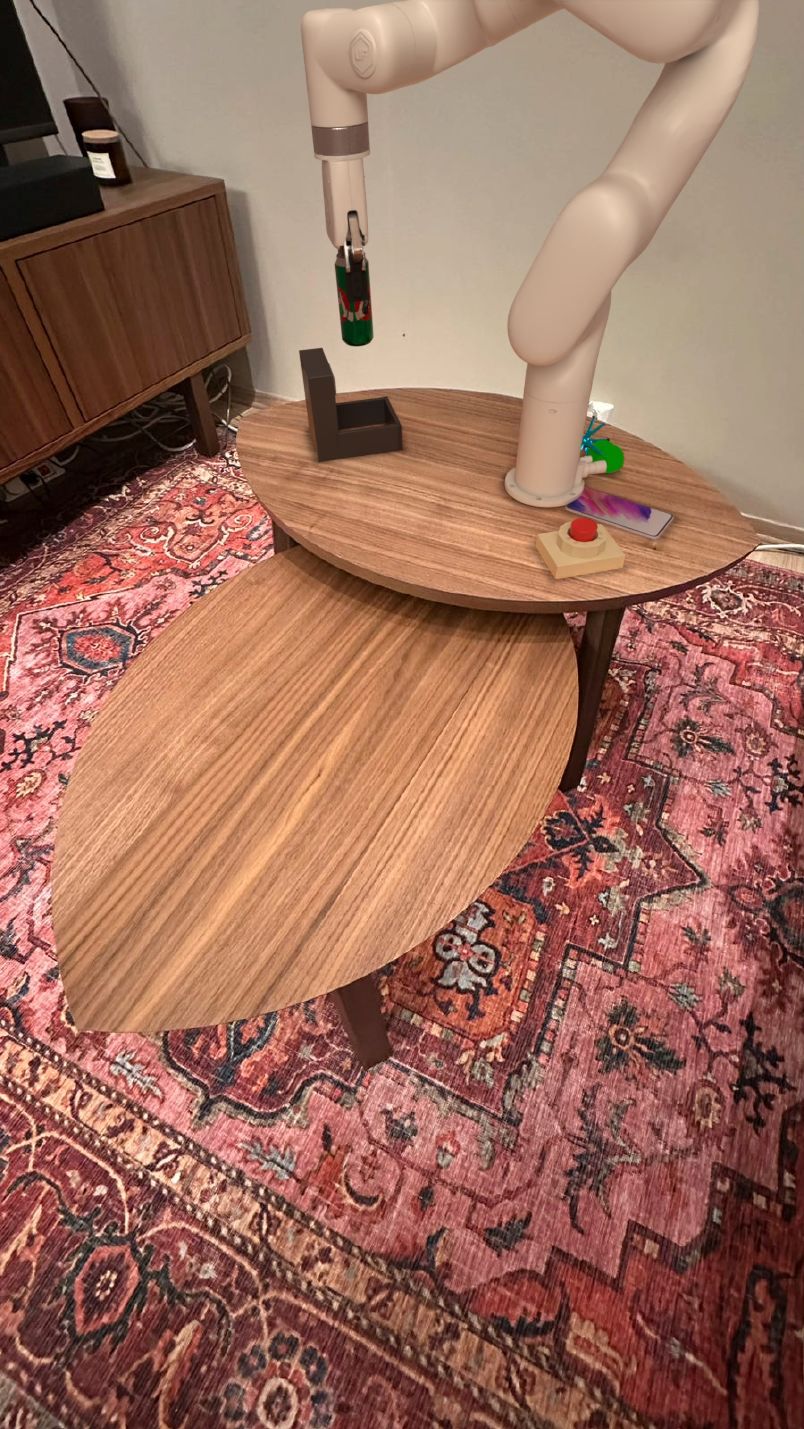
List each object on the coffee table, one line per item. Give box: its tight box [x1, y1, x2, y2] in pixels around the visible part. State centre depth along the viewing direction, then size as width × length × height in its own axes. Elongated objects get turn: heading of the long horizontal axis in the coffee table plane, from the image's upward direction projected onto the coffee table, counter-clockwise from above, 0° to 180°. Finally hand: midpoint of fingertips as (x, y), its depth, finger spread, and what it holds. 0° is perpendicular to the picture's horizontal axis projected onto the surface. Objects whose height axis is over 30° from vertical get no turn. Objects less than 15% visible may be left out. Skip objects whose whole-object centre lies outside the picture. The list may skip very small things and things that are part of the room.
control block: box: [534, 520, 627, 580], centre depth 96 cm, size 10×8×4 cm
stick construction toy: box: [580, 414, 625, 474], centre depth 114 cm, size 12×7×8 cm
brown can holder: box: [298, 347, 403, 463], centre depth 117 cm, size 15×12×14 cm
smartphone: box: [565, 486, 675, 540], centre depth 105 cm, size 7×1×15 cm
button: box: [569, 517, 598, 542], centre depth 94 cm, size 4×4×2 cm
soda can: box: [334, 251, 375, 347], centre depth 105 cm, size 5×5×12 cm
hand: (354, 293), depth 104 cm, fingers closed on soda can, 5 cm apart
